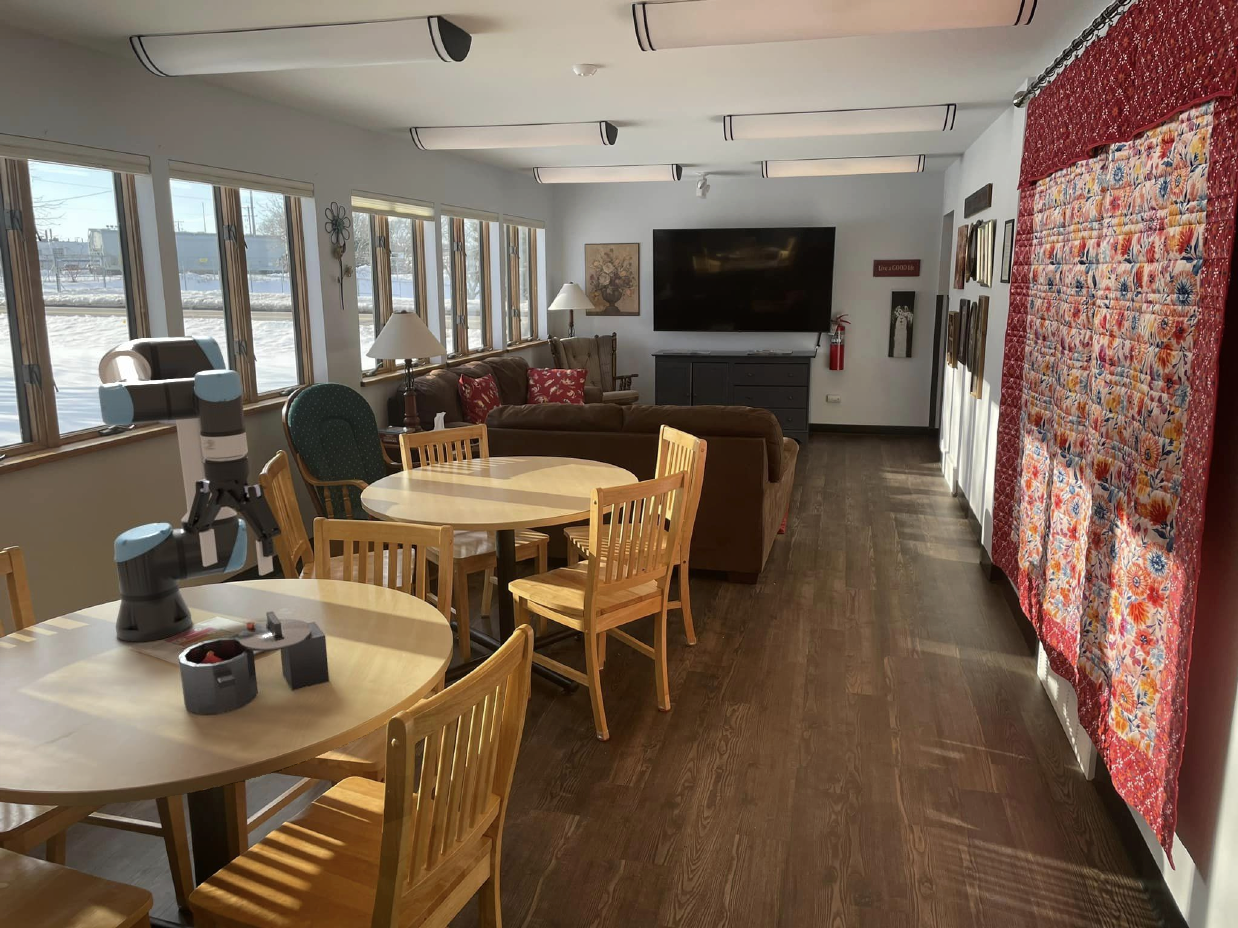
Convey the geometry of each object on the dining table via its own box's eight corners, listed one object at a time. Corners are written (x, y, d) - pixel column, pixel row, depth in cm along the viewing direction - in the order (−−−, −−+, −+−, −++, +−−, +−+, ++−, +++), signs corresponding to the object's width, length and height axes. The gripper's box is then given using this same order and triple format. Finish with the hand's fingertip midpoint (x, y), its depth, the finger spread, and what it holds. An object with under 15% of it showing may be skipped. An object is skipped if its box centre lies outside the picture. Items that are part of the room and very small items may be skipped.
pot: (178, 685, 174) (172, 639, 172) (246, 670, 180) (241, 625, 178) (193, 731, 157) (187, 680, 155) (267, 712, 163) (262, 663, 161)
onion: (219, 693, 165) (212, 650, 166) (191, 699, 166) (185, 656, 167) (238, 688, 171) (231, 646, 172) (211, 693, 172) (205, 652, 173)
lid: (233, 632, 174) (231, 613, 173) (301, 618, 181) (300, 600, 180) (246, 656, 163) (243, 636, 162) (318, 640, 170) (316, 621, 169)
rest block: (282, 674, 178) (278, 629, 176) (318, 666, 182) (314, 621, 180) (292, 690, 172) (287, 643, 169) (329, 681, 175) (325, 635, 173)
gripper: (157, 455, 162) (171, 566, 167) (263, 466, 153) (275, 583, 158) (191, 448, 169) (203, 554, 174) (294, 457, 160) (305, 570, 164)
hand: (237, 568), depth 166 cm, fingers open, 13 cm apart
